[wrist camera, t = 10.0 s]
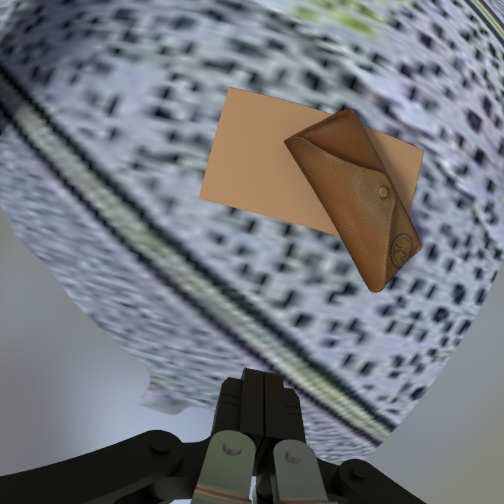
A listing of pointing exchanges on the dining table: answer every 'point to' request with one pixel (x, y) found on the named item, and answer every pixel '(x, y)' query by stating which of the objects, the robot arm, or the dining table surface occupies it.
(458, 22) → the dining table surface
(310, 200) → the mat
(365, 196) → the sunglasses case
